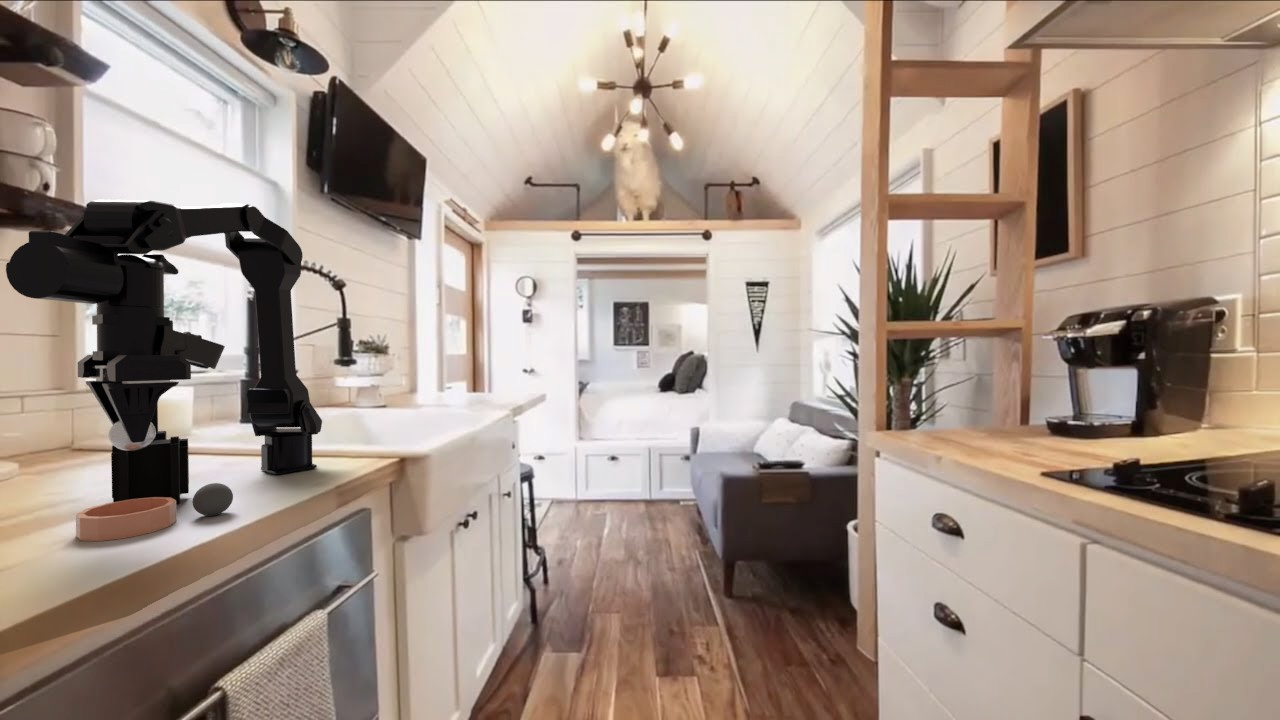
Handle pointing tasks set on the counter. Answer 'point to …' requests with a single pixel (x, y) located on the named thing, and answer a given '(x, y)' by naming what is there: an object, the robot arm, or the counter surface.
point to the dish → (125, 518)
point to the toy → (151, 468)
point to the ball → (212, 499)
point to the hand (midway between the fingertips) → (132, 440)
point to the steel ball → (122, 440)
